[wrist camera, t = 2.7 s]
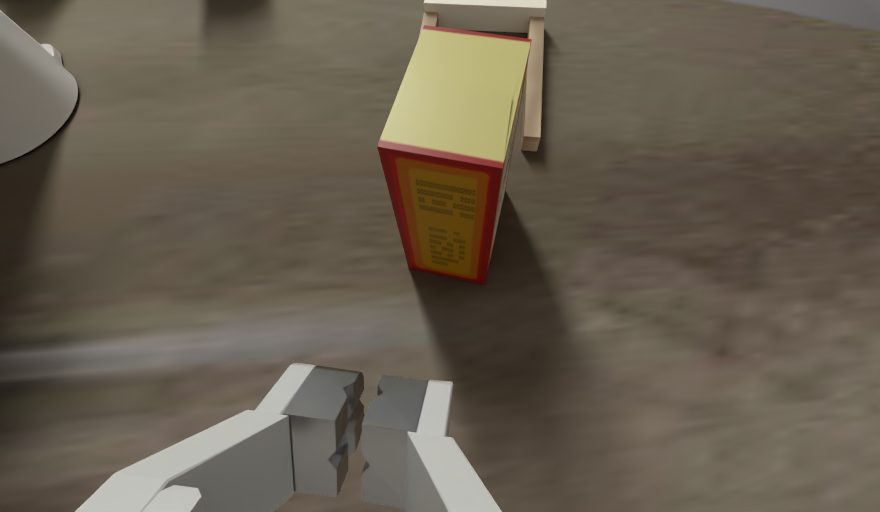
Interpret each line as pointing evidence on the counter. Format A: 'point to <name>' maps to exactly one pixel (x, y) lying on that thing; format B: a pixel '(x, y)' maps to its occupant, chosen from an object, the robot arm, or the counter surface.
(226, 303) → the counter surface
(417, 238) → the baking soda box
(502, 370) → the counter surface
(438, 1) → the slot rack
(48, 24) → the counter surface
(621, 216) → the counter surface
